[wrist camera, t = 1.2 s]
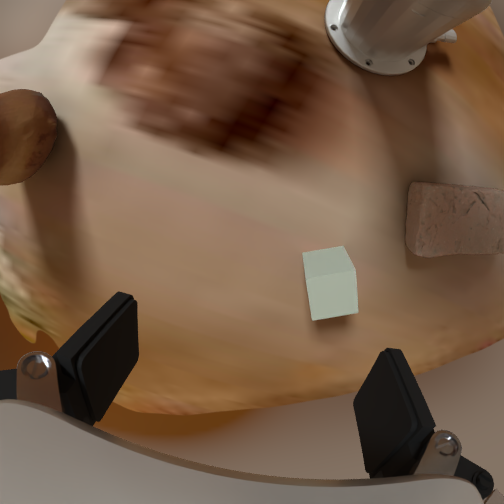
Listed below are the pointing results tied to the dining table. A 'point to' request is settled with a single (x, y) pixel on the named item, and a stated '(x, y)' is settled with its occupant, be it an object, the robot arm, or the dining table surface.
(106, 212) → the dining table surface
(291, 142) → the dining table surface
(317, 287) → the block
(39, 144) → the brown oblong lump
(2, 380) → the robot arm
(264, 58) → the dining table surface
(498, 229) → the brick
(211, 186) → the dining table surface
